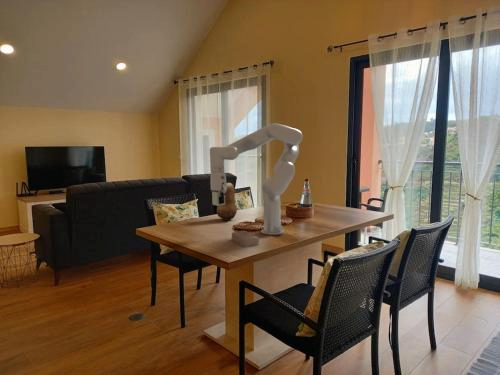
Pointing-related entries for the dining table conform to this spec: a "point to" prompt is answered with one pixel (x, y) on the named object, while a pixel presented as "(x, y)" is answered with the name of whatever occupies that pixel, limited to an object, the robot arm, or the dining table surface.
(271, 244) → the dining table surface
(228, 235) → the dining table surface
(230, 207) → the brown oblong lump
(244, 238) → the brick
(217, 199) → the block
